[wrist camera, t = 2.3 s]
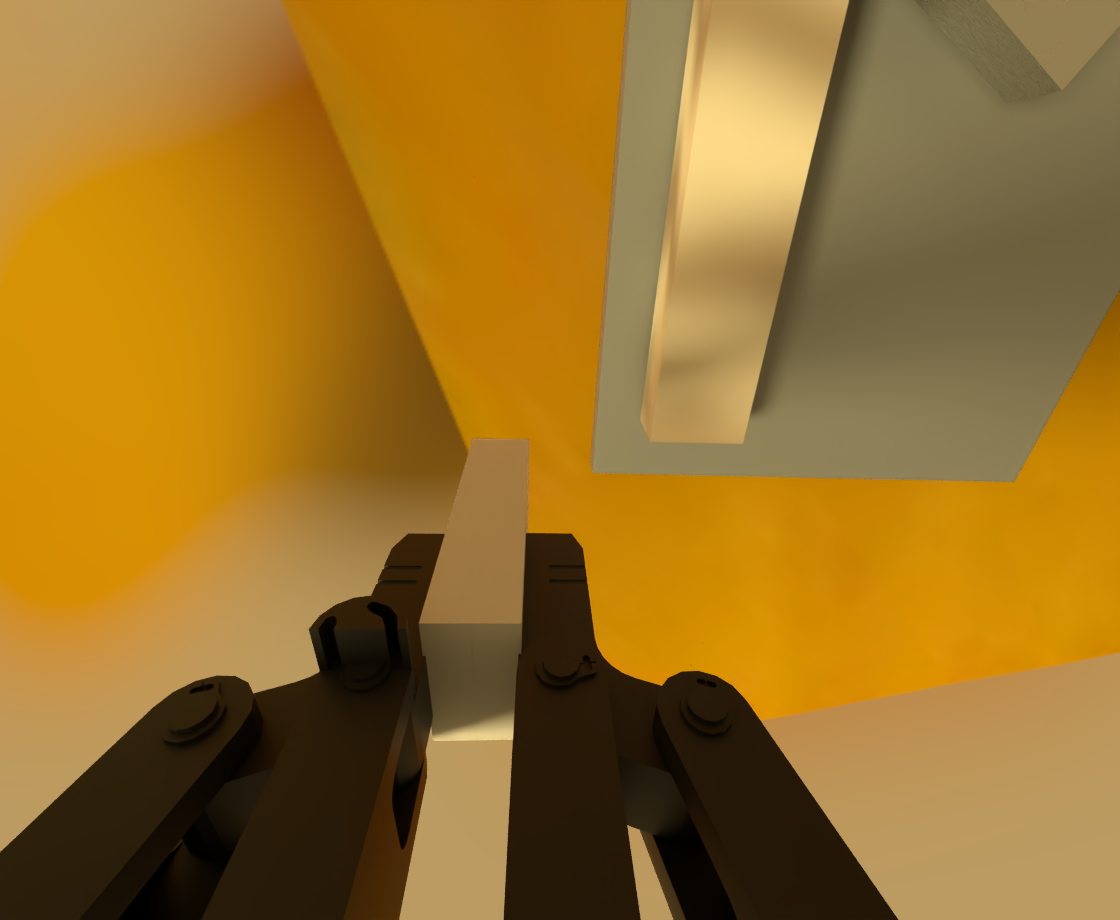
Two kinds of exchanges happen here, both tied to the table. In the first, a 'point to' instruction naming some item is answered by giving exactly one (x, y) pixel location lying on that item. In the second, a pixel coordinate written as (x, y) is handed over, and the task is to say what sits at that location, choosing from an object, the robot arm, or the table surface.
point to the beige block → (1026, 39)
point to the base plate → (884, 260)
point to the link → (733, 206)
